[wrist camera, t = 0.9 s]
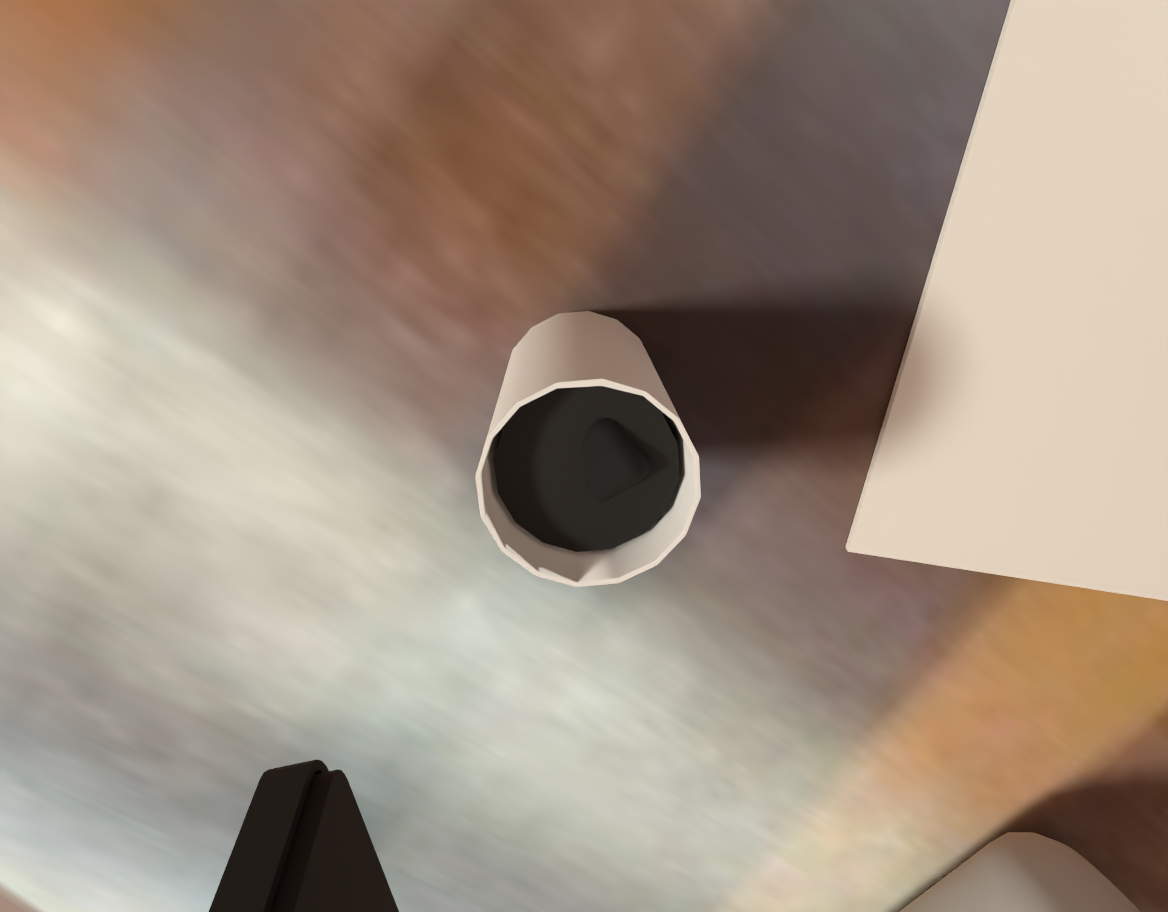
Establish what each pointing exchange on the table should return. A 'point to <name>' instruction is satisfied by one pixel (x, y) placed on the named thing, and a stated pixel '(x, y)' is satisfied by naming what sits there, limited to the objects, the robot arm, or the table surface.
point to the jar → (1023, 881)
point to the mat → (1043, 322)
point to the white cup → (586, 456)
